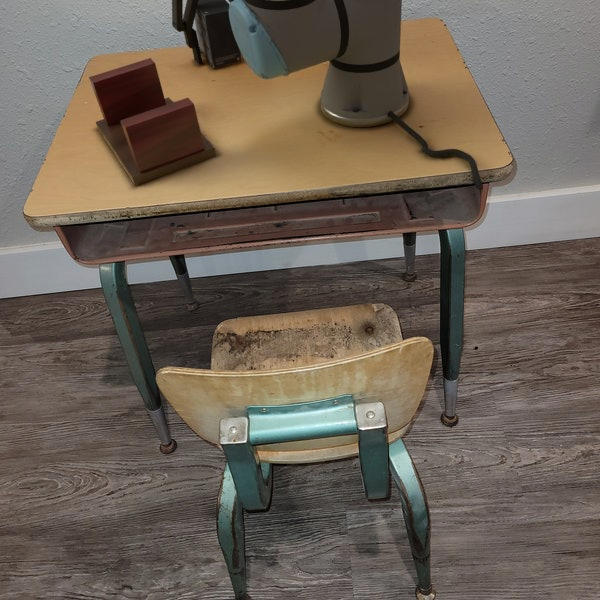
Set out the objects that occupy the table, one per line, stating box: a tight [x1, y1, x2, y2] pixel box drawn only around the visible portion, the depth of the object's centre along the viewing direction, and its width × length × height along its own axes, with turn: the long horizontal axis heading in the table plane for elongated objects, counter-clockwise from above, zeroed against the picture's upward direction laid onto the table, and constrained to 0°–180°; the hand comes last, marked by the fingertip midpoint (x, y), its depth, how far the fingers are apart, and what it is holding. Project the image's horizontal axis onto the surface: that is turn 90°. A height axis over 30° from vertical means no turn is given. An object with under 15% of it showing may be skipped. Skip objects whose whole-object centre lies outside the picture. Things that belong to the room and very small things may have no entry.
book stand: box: [88, 58, 217, 187], centre depth 98 cm, size 21×14×10 cm, turn 29°
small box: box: [194, 0, 242, 69], centre depth 119 cm, size 11×6×10 cm, turn 22°
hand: (220, 54), depth 123 cm, fingers open, 9 cm apart
